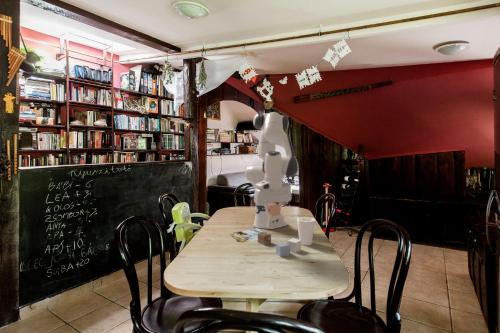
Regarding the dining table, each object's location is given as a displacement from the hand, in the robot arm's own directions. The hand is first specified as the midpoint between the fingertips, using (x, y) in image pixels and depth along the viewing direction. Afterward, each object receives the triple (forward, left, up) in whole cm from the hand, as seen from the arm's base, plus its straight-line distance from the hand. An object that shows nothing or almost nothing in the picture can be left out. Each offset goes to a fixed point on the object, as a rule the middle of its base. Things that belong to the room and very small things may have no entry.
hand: (273, 211), depth 146 cm
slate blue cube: (0, +9, -19) cm, 21 cm away
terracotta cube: (0, 0, -2) cm, 2 cm away
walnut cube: (0, -9, -19) cm, 21 cm away
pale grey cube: (-8, +7, -19) cm, 22 cm away
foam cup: (-19, +2, -19) cm, 27 cm away
